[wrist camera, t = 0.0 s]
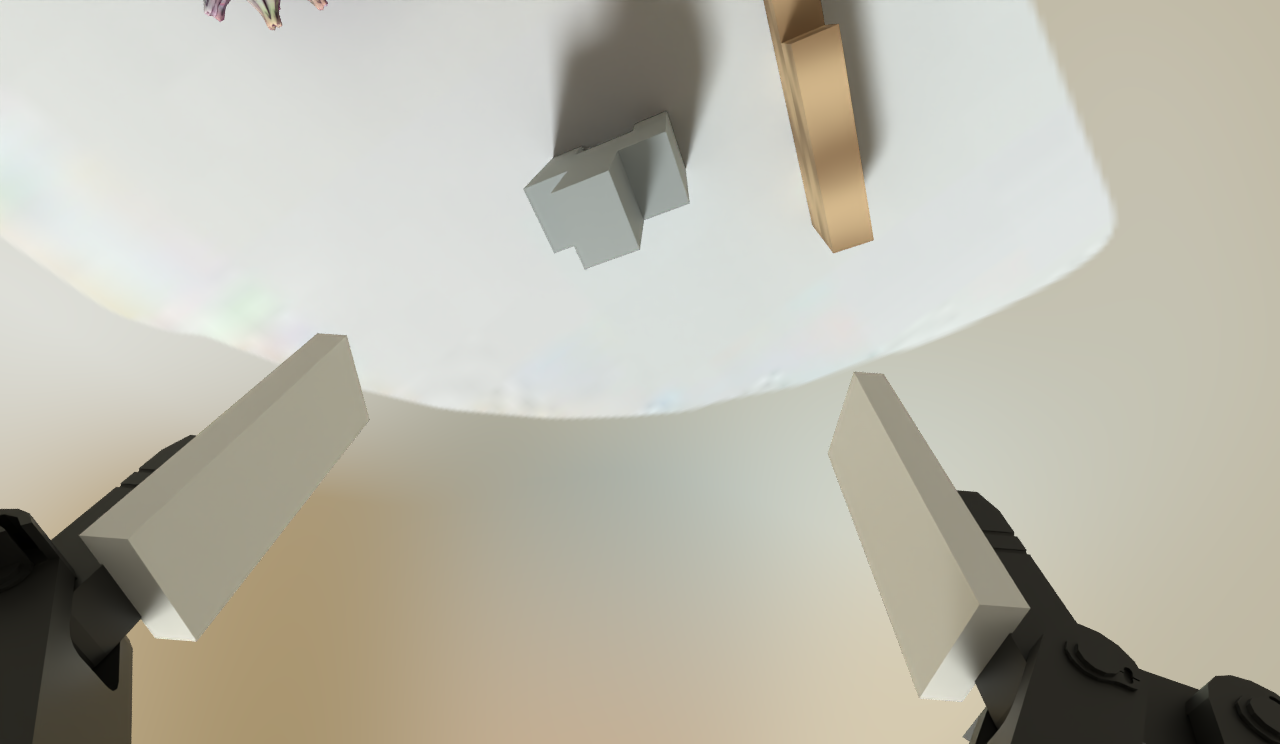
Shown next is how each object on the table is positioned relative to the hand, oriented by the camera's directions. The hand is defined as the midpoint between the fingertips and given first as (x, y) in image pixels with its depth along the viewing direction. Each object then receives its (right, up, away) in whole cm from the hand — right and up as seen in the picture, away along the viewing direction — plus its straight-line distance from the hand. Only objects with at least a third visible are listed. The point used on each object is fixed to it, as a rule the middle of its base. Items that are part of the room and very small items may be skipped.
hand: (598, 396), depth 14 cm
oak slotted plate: (+10, +22, +19) cm, 31 cm away
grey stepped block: (0, +15, +24) cm, 28 cm away
